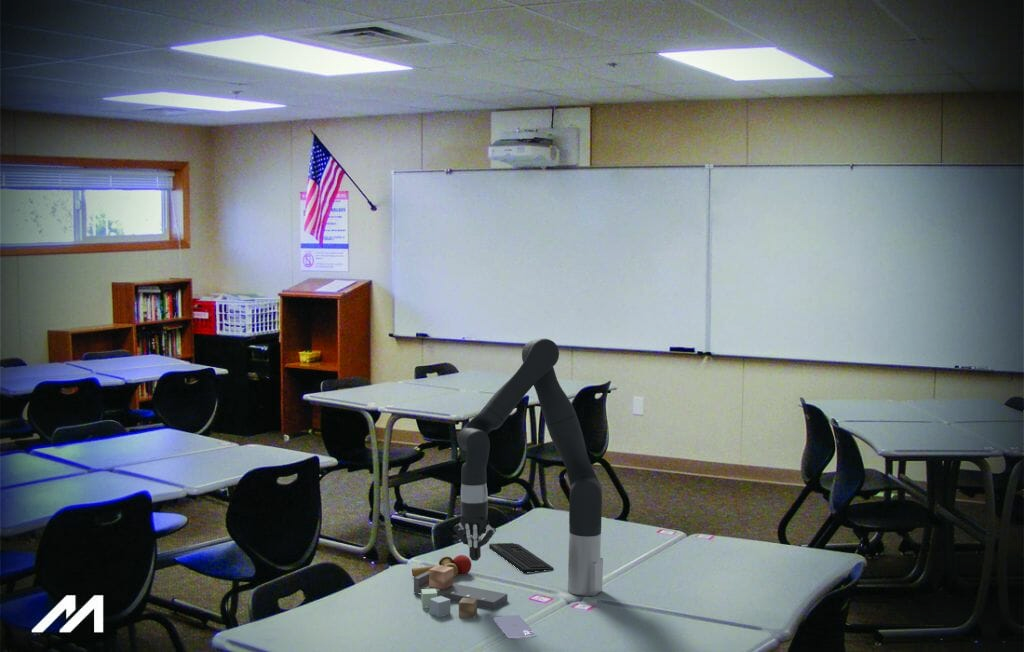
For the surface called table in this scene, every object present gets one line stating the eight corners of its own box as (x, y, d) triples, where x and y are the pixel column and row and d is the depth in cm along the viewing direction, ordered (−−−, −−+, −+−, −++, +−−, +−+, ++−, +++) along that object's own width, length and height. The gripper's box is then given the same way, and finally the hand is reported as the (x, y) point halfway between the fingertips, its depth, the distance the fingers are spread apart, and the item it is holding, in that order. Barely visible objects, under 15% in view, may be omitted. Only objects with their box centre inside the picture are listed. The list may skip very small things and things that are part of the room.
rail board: (507, 601, 278) (507, 585, 277) (493, 609, 271) (493, 593, 270) (428, 585, 290) (429, 570, 289) (413, 593, 283) (414, 577, 282)
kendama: (416, 587, 292) (475, 574, 297) (413, 565, 293) (472, 553, 298) (412, 583, 300) (469, 571, 305) (409, 562, 300) (466, 550, 305)
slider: (453, 584, 284) (453, 567, 284) (444, 589, 280) (444, 572, 279) (438, 581, 286) (438, 564, 286) (429, 586, 282) (429, 569, 282)
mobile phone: (519, 613, 266) (537, 633, 252) (519, 617, 266) (537, 637, 252) (492, 616, 264) (508, 636, 250) (492, 619, 264) (508, 640, 250)
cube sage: (435, 602, 276) (435, 588, 275) (437, 607, 272) (437, 593, 271) (421, 603, 275) (421, 589, 274) (422, 608, 271) (422, 593, 271)
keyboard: (555, 571, 307) (556, 565, 307) (523, 575, 303) (523, 568, 302) (518, 545, 334) (518, 540, 334) (488, 548, 330) (488, 543, 330)
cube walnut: (477, 613, 268) (477, 598, 267) (473, 618, 264) (473, 603, 264) (462, 611, 269) (462, 597, 268) (458, 616, 265) (458, 602, 264)
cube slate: (450, 614, 267) (450, 599, 266) (438, 617, 264) (438, 602, 264) (440, 610, 270) (441, 595, 269) (429, 613, 267) (429, 598, 267)
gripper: (501, 498, 278) (502, 559, 279) (460, 494, 284) (461, 553, 285) (488, 504, 272) (489, 566, 273) (447, 499, 277) (447, 560, 278)
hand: (475, 559), depth 279 cm, fingers closed
